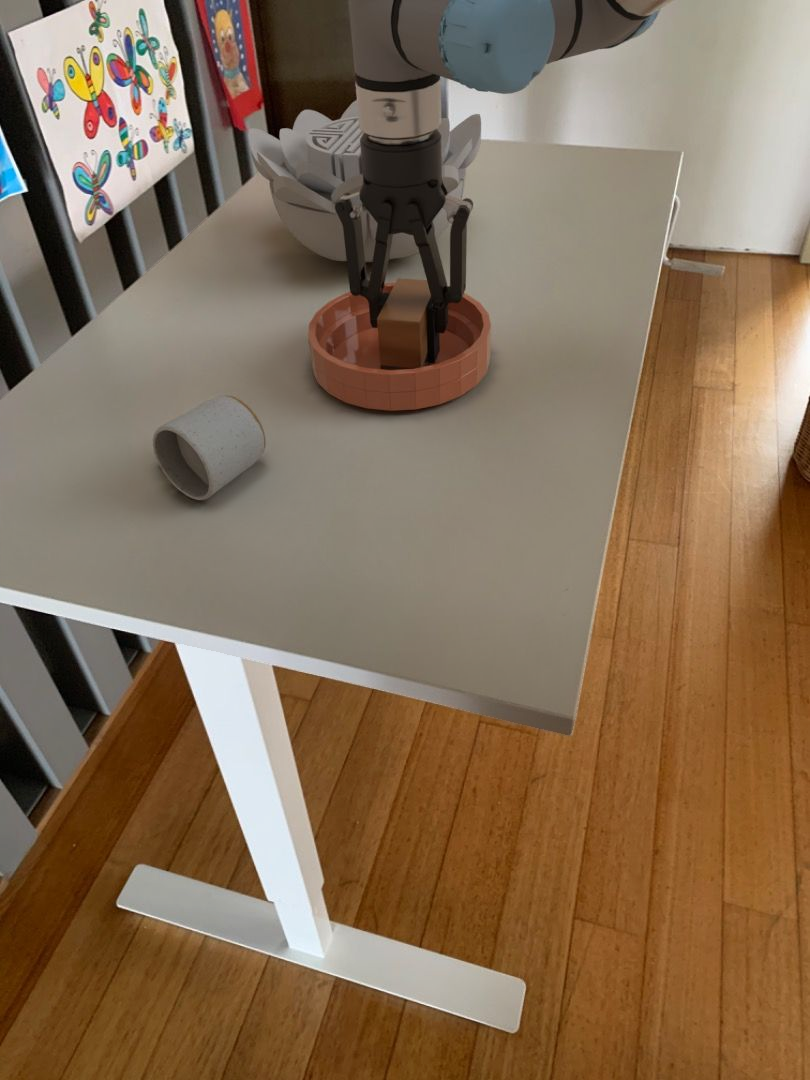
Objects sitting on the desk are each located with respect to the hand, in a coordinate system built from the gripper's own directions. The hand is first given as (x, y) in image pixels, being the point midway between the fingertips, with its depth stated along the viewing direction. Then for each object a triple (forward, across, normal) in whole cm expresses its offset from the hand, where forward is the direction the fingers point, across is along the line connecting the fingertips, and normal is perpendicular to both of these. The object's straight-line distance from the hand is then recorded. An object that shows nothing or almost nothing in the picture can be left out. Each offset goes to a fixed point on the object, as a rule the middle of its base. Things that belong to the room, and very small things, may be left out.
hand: (410, 354), depth 93 cm
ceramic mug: (+2, -15, -22) cm, 27 cm away
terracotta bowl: (+1, -1, 0) cm, 2 cm away
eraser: (0, 0, 0) cm, 0 cm away
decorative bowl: (+2, -13, +29) cm, 32 cm away
